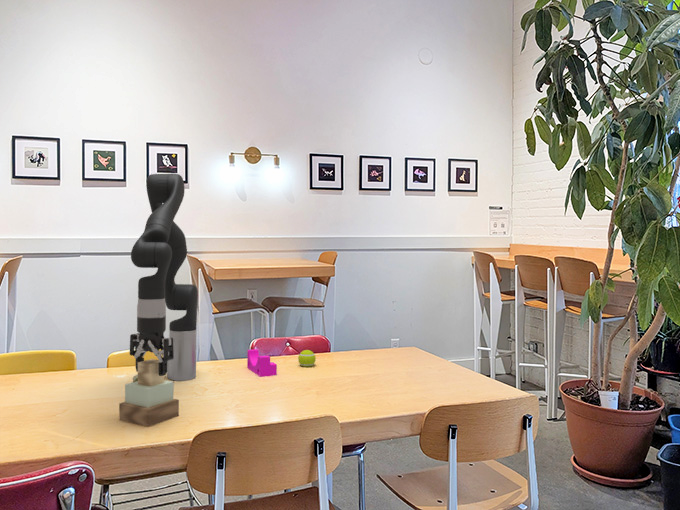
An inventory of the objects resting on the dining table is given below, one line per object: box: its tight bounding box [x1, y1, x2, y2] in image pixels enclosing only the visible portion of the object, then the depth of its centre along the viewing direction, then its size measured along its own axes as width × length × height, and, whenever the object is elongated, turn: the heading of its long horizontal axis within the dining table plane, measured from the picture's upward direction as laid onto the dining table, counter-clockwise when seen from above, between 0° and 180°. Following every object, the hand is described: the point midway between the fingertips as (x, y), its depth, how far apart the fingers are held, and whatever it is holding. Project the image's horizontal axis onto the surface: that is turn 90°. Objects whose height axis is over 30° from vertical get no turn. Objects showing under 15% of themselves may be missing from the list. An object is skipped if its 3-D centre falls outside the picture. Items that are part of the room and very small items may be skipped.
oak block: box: [137, 358, 166, 386], centre depth 158 cm, size 5×5×6 cm
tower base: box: [118, 398, 180, 428], centre depth 159 cm, size 11×11×5 cm
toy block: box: [246, 348, 278, 378], centre depth 213 cm, size 15×6×8 cm, turn 27°
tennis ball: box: [297, 349, 316, 368], centre depth 223 cm, size 7×7×7 cm
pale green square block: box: [124, 379, 175, 408], centre depth 159 cm, size 9×9×5 cm
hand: (151, 373), depth 158 cm, fingers open, 8 cm apart
